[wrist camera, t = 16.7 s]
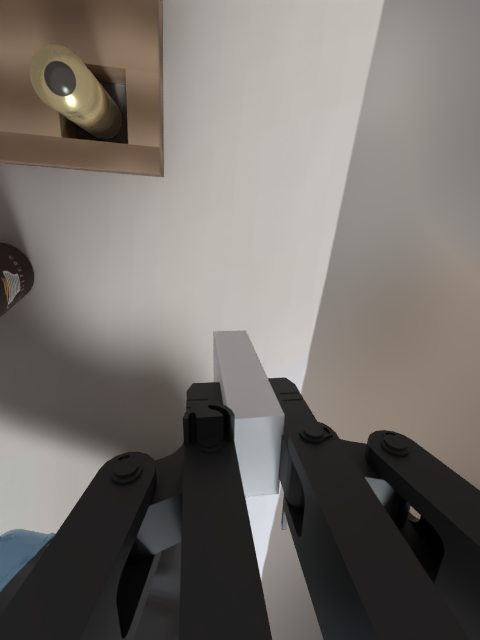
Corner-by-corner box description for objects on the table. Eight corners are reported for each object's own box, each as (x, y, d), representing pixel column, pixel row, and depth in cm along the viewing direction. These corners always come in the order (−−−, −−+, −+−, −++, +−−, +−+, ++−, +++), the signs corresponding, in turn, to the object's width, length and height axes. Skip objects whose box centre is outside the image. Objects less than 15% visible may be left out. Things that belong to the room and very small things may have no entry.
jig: (163, 177, 33) (159, 173, 30) (6, 163, 31) (-20, 157, 27) (162, -7, 28) (157, -39, 24) (-25, -39, 26) (-62, -80, 22)
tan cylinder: (123, 140, 32) (92, 114, 22) (82, 136, 31) (33, 108, 22) (120, 96, 30) (87, 48, 21) (78, 91, 30) (25, 39, 20)
